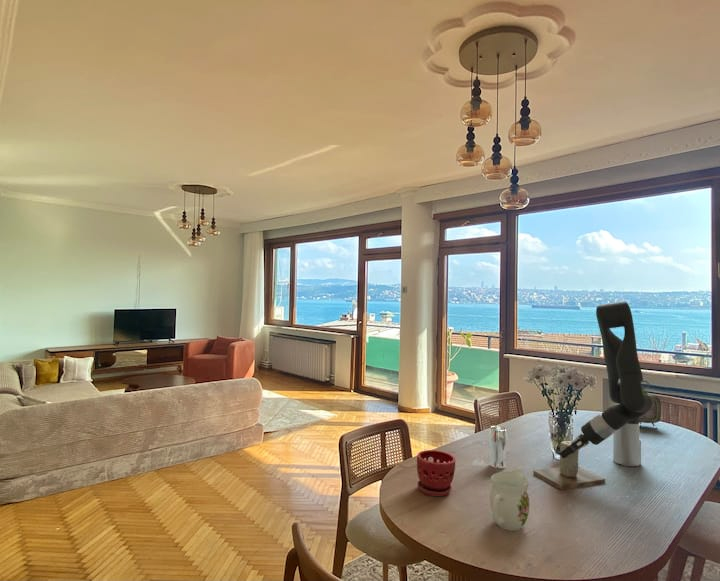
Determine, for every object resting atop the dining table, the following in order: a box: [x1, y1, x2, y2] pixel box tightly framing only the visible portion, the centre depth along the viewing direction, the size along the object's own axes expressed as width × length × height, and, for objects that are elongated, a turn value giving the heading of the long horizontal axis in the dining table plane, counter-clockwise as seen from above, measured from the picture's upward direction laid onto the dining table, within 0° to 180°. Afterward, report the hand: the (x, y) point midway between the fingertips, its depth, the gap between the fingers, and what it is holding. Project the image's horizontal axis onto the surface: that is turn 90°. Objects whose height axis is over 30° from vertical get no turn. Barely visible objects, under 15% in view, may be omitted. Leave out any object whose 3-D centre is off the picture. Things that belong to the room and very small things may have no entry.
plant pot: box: [416, 449, 456, 497], centre depth 148 cm, size 13×13×12 cm
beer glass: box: [488, 425, 508, 470], centre depth 171 cm, size 7×7×15 cm
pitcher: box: [489, 469, 530, 532], centre depth 125 cm, size 11×18×14 cm, turn 137°
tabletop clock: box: [639, 380, 662, 427], centre depth 230 cm, size 14×9×25 cm, turn 81°
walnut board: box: [532, 466, 606, 491], centre depth 160 cm, size 20×14×2 cm
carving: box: [558, 440, 580, 477], centre depth 160 cm, size 6×8×12 cm
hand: (564, 453), depth 161 cm, fingers open, 8 cm apart
